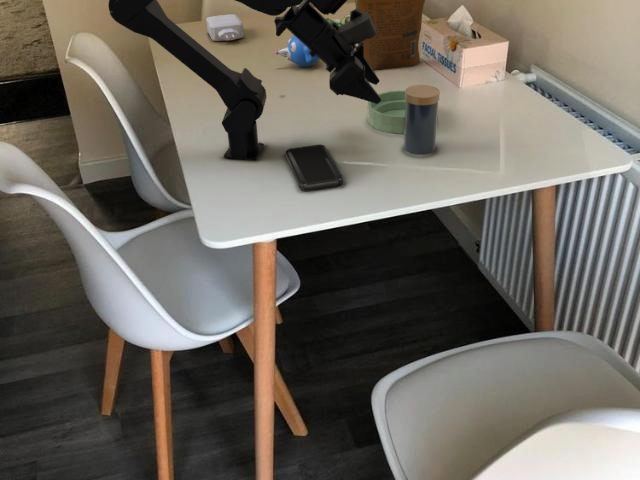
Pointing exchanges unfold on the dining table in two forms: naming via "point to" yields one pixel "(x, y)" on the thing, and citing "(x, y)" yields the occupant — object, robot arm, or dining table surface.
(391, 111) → the bowl
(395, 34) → the pancake mix bag
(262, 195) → the dining table surface
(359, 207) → the dining table surface
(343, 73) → the robot arm
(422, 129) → the canister
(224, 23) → the charger
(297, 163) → the phone
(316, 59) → the blue mole toy
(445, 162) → the dining table surface
